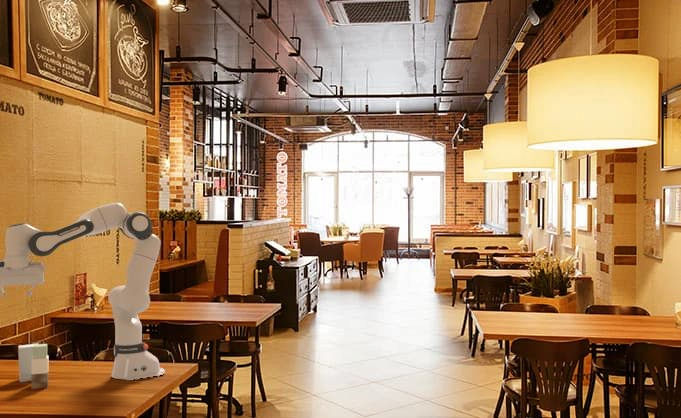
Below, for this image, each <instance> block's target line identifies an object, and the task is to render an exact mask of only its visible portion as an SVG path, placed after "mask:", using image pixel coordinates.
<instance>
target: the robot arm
mask: <svg viewBox="0 0 681 418" xmlns="http://www.w3.org/2000/svg"><path fill="white" fill-rule="evenodd" d="M115 228H118V229H119V231H120V232H122V234H123V235H124V236H125V237H126V238H128V239H132V240H133V239H134V244H135V245H134V248H133V251H132V253H131V255H130V258H129V261H128V264H127V266H126V269H125V271H126V283H125V285H118V286H115V287H113V288H112V289H111V290H110V292H109V293H108V295H107V297H108V303H109V305H110V307H111V311H112V316H113V320H114V321H113V322H114V328H115V329H114V330H115V331H114V333H115V334H114V335H115V343H114V346H113V355H114V356H113V357H114V362H113V368H112V372H111V376H110V377H111V378H113V379H117V380H124V381H133V380H134V379H135V380H141V379H140V378H143V379H148V378H147V377H150V378H154V377H153V376H157V377H161V376H160V375H163V374H164V373H166V370H165V369H164V368H163V367H160V362H159V359H158V357H156V356H155V355H153V354H152V353H151V352H150V351H148V348H149V345H148V344H147V343H145V342H143V340H142V339H143V338H142V337H143V335H142V334H143V333H142V332H143V331H142V330H143V325H142V322H141V321H140V317H139V314H140V313H143V312H145V311H146V310H148V308H149V307H150V304H151V296H150V284H151V278H152V275H153V272H154V269H155V265H156V263H157V261H158V257H159V254H160V250H161V244H162V241H161V239H160V238H159V237H158V236H157V235H156V234H153V233H154V232H153V230H154V229H153V225H152V220H151V218H150V216H149V215H148V214H146V213H144V212H141V211H137V212H133V213H130V212H129V211H127V209H126V207H125V206H124V205H123V204H122V203H120V202H113V203H112V202H111V203H108V204H103V205H100V206H98V207H95V208H92V209H90V210H88V211H86V212H84V213H83V214H81V216H80V217H79V218H78V219H77V220H76V221H75V222H73V223H71V224H69V225H66V226H63V227H61V228H58V229H56V230H52V231H45V230H44V231H43V230H40V229H38V228H35V227H33V226H31V225H29V224H28V223H27V222H23V223H15V224H11V225H10V226H8V227H7V228H6V231H5V232H6V233H5V244H4V245H5V248H6V252H5V257H4V259H0V292H1V297H2V298H3V297H4V298H5V297H7V294H8V293H7V291H5V290H4V286H6V287H7V286H30V290H28V291H27V296H28V297H30V296H31V297H32V296H33V295H32V294H33V290H34V289H35V287H36V285H42V284H44V283H45V274H44V273H45V270H46V265H45V264H44V263H42V262H41V261H38V262H34V261H33V262H32V261H30V253H31V254H33V255H34V256H37V257H46V256H49V255H51V254H52V253H53V252H54V251H56V250H57V249H58V248H59V247H60V246H62V245H64V244H67V243H69V242H72V241H73V240H77V239H79V238H83V237H88V236H93V235H94V236H95V235H98V234H101V233H104V232H107V231H109V230H111V229H112V230H113V229H115ZM164 375H165V374H164ZM164 375H163V376H164Z"/></svg>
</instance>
